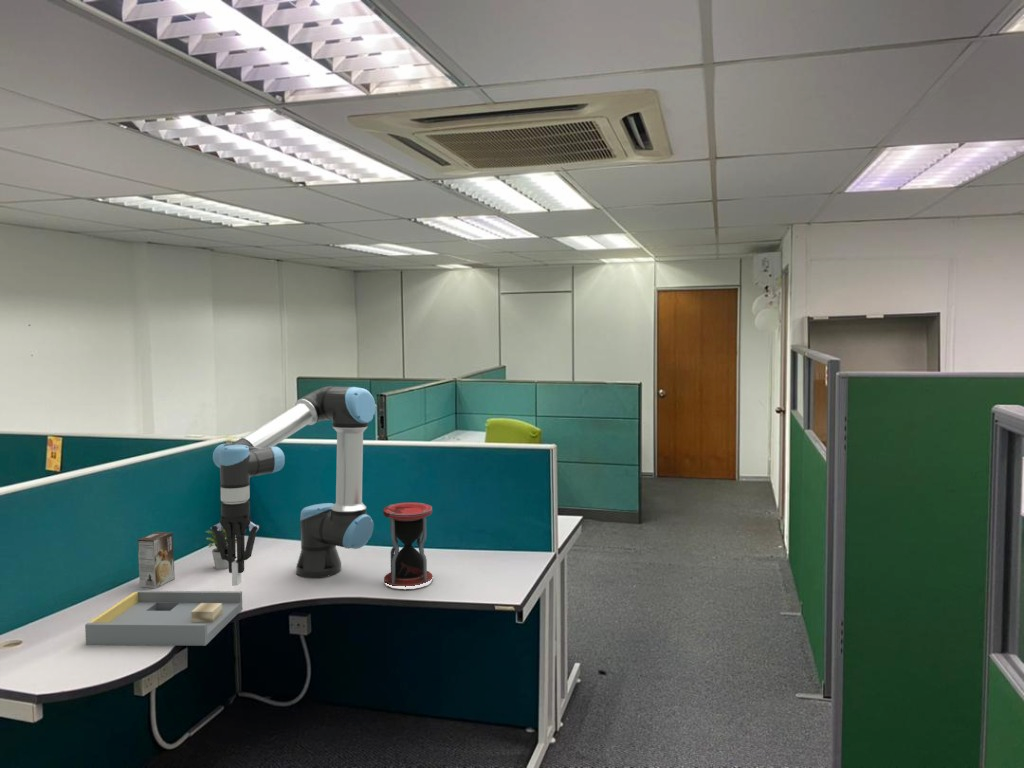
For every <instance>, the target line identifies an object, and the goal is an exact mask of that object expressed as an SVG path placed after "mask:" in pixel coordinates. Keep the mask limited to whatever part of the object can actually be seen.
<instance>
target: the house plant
mask: <svg viewBox="0 0 1024 768" xmlns="http://www.w3.org/2000/svg"><path fill="white" fill-rule="evenodd" d="M209 528H210V530H209V529H208V530H207V531H206V530H205V533H208V534H209V535H210V536H211V537H206V540H208V541H211V542H209V543H208V545H207V546H208V548H211V547H214V548H213V549H212V550H211V552H212V553H211V554H212V557H213V562H214V566H215V569H217V570H225V569H229V562H228V561H227V560H222V558H221V555H220V551H219V547H218V543H217V539H216V536H215V533H214V532H213V531H212V526H210V527H209ZM222 530H223V533H224V536H225V540H226V544H227V548H228V539H227V532H226V531H225V530H224V528H223V529H222ZM212 542H213V543H212ZM235 542H237V538H236V536H235ZM215 547H216V548H215Z"/></svg>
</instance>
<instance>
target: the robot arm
mask: <svg viewBox="0 0 1024 768" xmlns="http://www.w3.org/2000/svg"><path fill="white" fill-rule="evenodd" d="M376 407H377V406H376V402H375V398H374V397H373V394H371V392H370V391H369V390H367V389H366V388H362V387H357V386H335V385H329V386H323V387H321V388H319V389H316V390H314V391H312V392H310V393H308V394H306V395H304V396H303V397H300V398H299V399H298V400H296V401H295V403H294V405H293V406H291V407H290V408H289V409H287V410H285V411H284V412H282V413H281V414H279V415H276V417H273V418H272V419H271V420H269V421H267V422H266V423H264V424H262V425H260V426H259V427H258V428H255V429H254V430H252V431H250V432H248V434H246V435H244V436H243V437H241V438H239V439H238V440H236V441H233V443H228V442H227V443H222V444H219V445H218V446H216V447H215V449H214V450H213V452H212V460H213V463H214V465H215V466H216V467H218V468H219V477H220V502H221V503H220V515H221V518H220V520H219V523H216V524H214V525H213V526H211V528H212V529H211V532H212V533H213V534H214V533H215V536H216V539H217V543H218V547H219V551H220V555H221V558H222V560H227V561H228V562H229V568H228V573H229V574H231V586H235V587H236V586H237V587H238V586H239V585H240V584H241V583H242V573H243V572H245V561H247V560H249V559H250V558H251V557H252V553H253V551H254V545H255V541H256V537H257V533H258V531H259V530H260V527H261V526H260V524H255V523H254V522H253V521H252V518H251V501H250V500H249V499H250V498H251V497H250V495H251V494H250V490H251V489H250V488H251V487H250V485H251V481H250V478H252V477H255V476H256V477H257V476H262V475H263V476H264V475H267V474H273V473H276V472H279V471H281V470H282V469H283V468H284V466H285V462H286V461H285V460H286V459H285V458H286V456H285V453H284V451H283V450H282V449H281V448H280V447H278V446H277V445H279V444H280V443H281V442H282V441H284V440H286V439H288V438H289V437H291V436H292V435H294V434H295V433H297V432H298V431H300V430H302V429H303V428H304V427H306V426H307V425H308V426H313V425H315V424H316V423H318V422H322V421H332V429H334V430H335V431H336V472H335V474H336V475H335V476H336V477H335V478H336V479H335V480H336V481H335V482H336V483H335V484H336V485H335V503H331V502H327V503H325V502H324V503H318V504H316V503H315V504H312V505H309V506H305V507H303V508H302V510H301V511H300V519H299V520H300V521H299V523H300V525H299V526H300V546H301V547H300V553H299V557H298V560H297V563H296V566H295V567H296V569H295V570H296V575H297V576H299V575H300V577H302V578H308V577H318V578H325V577H324V576H326V577H329V576H328V575H330V576H333V575H335V573H336V574H338V573H339V572H340V571H341V570H342V561H341V557H340V555H339V552H338V549H337V547H340V548H344V549H353V550H358V549H361V548H363V547H364V546H365V545H367V544H368V541H369V540H370V539H371V537H372V535H373V532H374V520H373V519H372V516H370V515H369V514H367V506H366V505H365V504H364V503H363V465H364V464H363V463H364V462H363V461H364V459H363V458H364V456H363V455H364V433H365V430H367V429H368V427H369V423H370V422H372V420H373V418H374V416H375V415H376V411H377V410H376ZM223 528H224V530H225V531H226V532H227V533H226V534H227V535H226V536H224V533H223V530H222V529H223ZM247 529H248V530H249V533H248V535H247V536H248V537H247V541H246V544H245V536H246V532H247ZM226 537H227V539H228V548H227V544H226V540H225V539H226ZM235 537H236V538H235ZM235 539H237V541H235ZM337 572H338V573H337ZM332 574H333V575H332Z"/></svg>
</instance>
